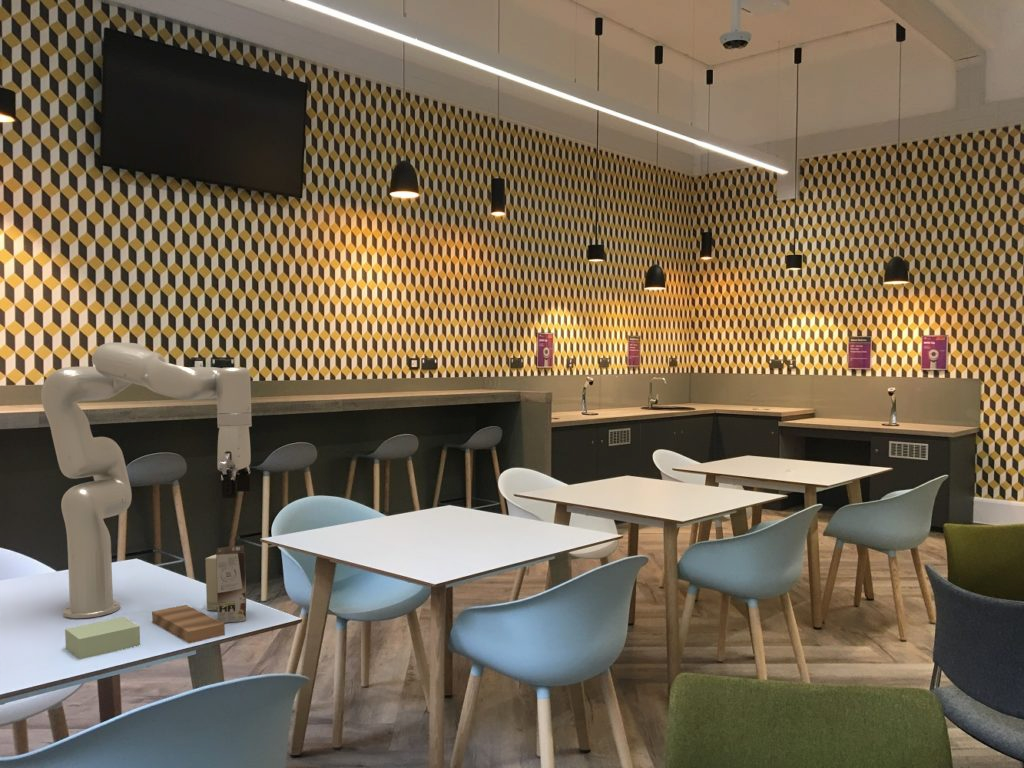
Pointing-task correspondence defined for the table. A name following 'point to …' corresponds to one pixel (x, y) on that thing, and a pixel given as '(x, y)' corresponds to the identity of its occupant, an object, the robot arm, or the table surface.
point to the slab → (102, 637)
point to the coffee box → (231, 584)
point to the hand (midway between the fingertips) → (236, 494)
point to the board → (188, 623)
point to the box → (211, 583)
